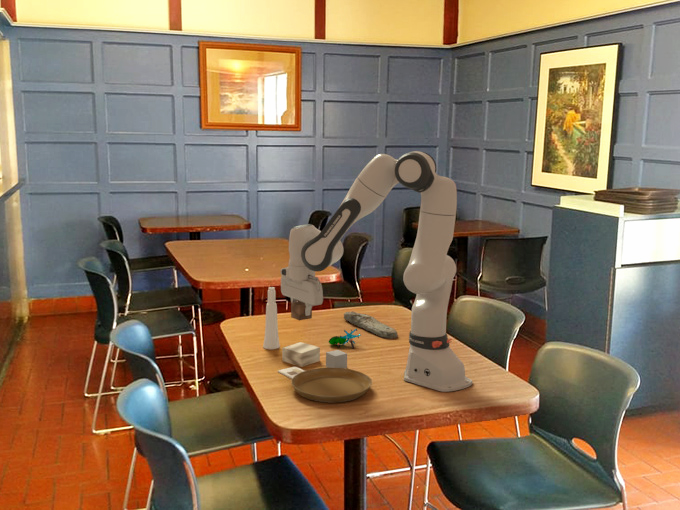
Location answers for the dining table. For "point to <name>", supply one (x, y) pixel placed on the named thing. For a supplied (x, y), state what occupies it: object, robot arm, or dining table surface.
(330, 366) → the grey plastic cube
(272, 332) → the cosmetic bottle
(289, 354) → the birch base block
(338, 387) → the plant saucer
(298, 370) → the card
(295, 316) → the walnut cube
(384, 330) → the elongated rock
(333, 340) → the stick construction toy
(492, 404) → the dining table surface
